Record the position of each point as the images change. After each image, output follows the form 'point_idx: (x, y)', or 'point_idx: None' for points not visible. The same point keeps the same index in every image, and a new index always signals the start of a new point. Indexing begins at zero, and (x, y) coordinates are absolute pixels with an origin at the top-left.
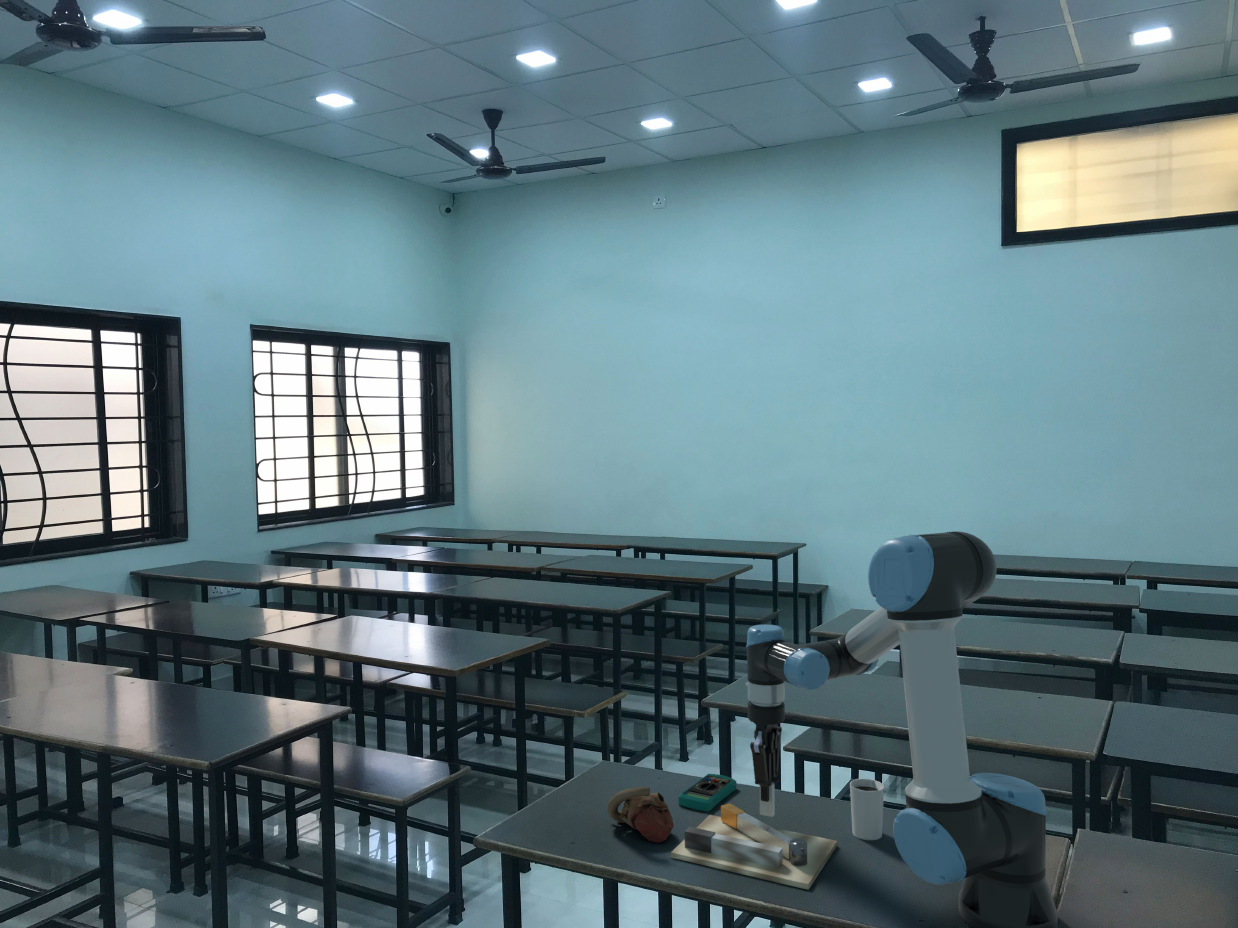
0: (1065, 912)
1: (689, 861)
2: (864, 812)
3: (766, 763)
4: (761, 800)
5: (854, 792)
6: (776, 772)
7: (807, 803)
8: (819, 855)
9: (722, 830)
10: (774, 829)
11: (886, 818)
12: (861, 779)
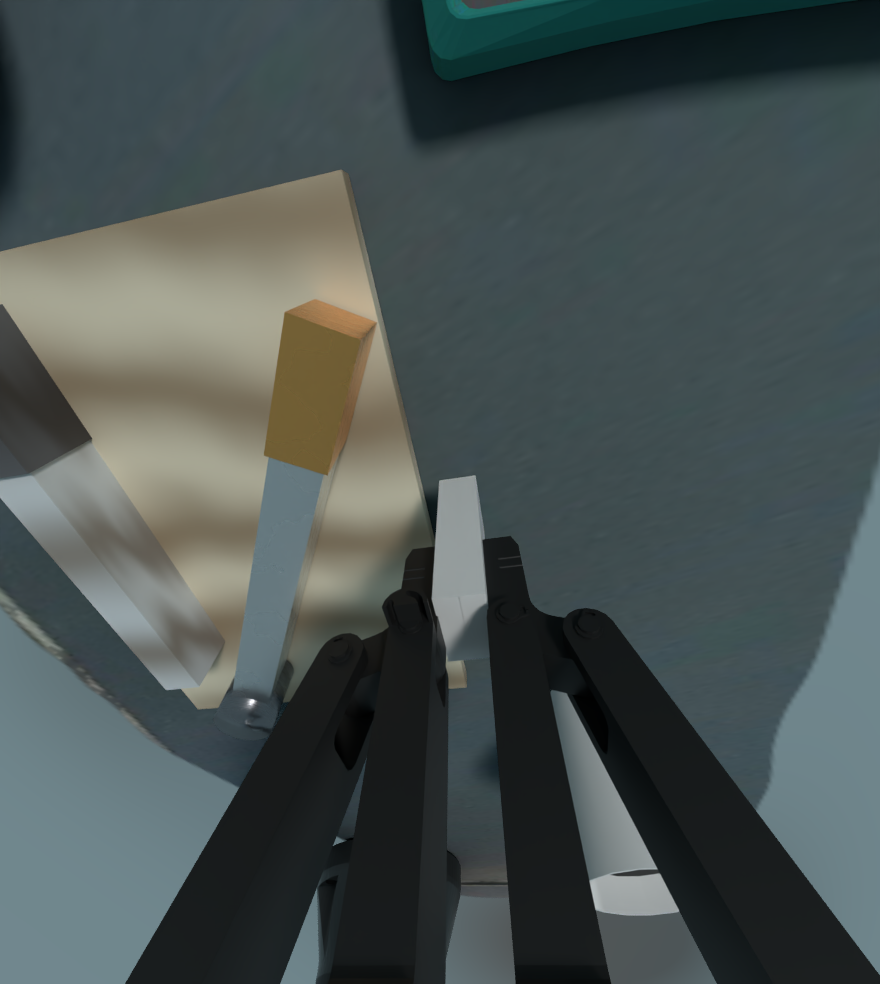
0: None
1: None
2: None
3: (303, 910)
4: (412, 551)
5: (584, 856)
6: (571, 696)
7: (782, 500)
8: None
9: (242, 366)
10: (283, 631)
11: (721, 704)
12: None
